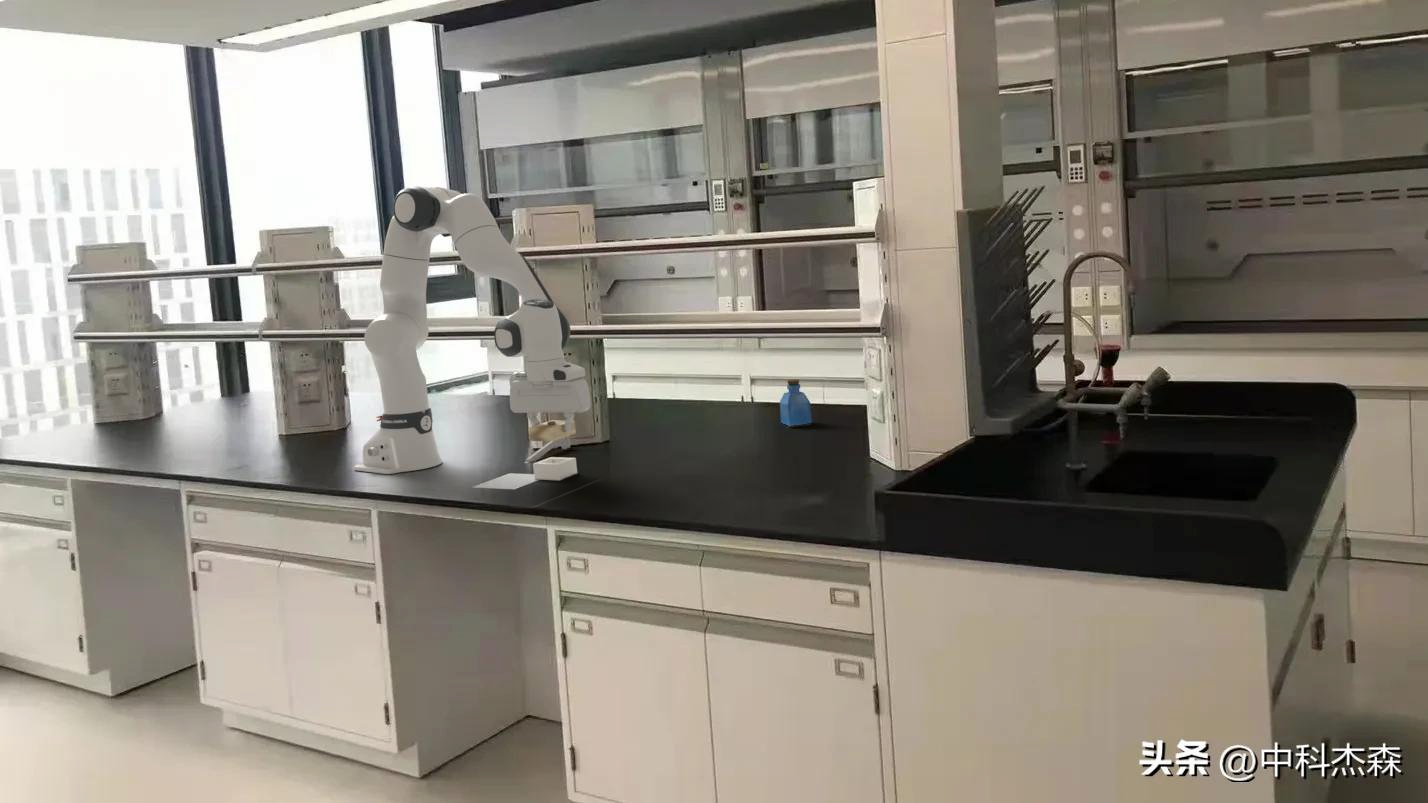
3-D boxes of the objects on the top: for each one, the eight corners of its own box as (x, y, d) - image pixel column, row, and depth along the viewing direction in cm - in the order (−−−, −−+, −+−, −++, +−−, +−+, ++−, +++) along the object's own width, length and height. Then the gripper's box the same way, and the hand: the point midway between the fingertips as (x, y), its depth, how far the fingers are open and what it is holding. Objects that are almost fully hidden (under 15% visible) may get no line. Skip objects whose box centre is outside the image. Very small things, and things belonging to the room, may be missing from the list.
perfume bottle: (781, 425, 319) (778, 380, 317) (802, 422, 321) (799, 377, 319) (789, 428, 313) (786, 382, 311) (811, 425, 315) (808, 380, 313)
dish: (534, 480, 272) (532, 463, 272) (552, 473, 279) (550, 457, 278) (559, 481, 269) (558, 464, 269) (577, 474, 275) (575, 457, 275)
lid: (529, 441, 270) (527, 425, 270) (552, 433, 278) (550, 417, 277) (553, 441, 267) (551, 425, 266) (575, 433, 275) (574, 417, 274)
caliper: (567, 448, 311) (564, 424, 310) (570, 448, 310) (568, 424, 309) (523, 466, 292) (520, 440, 291) (527, 466, 292) (524, 440, 291)
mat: (471, 489, 269) (471, 487, 269) (509, 475, 281) (509, 473, 281) (514, 491, 264) (514, 489, 263) (551, 476, 276) (551, 474, 276)
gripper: (500, 374, 272) (507, 434, 274) (575, 372, 263) (581, 434, 265) (517, 370, 278) (523, 428, 280) (591, 368, 268) (597, 429, 270)
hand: (552, 431), depth 272 cm, fingers closed on lid, 6 cm apart
